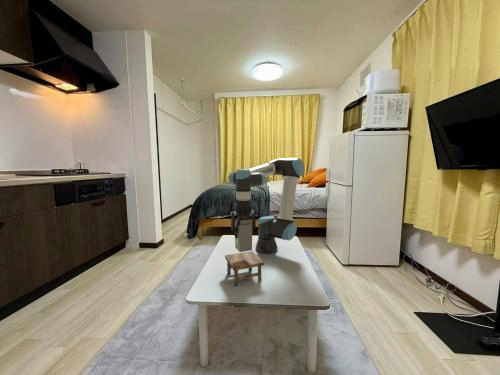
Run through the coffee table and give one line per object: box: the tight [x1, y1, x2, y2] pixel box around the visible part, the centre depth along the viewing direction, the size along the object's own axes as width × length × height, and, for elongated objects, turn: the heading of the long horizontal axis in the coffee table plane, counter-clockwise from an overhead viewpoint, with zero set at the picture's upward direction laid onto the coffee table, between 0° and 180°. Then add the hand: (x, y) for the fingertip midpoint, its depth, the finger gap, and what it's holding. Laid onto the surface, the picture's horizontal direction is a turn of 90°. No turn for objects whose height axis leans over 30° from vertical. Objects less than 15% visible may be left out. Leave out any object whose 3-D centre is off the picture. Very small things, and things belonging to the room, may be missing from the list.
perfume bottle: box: [234, 215, 253, 253], centre depth 114 cm, size 7×7×18 cm
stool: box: [224, 250, 265, 287], centre depth 116 cm, size 16×16×10 cm
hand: (243, 243), depth 114 cm, fingers closed on perfume bottle, 5 cm apart
